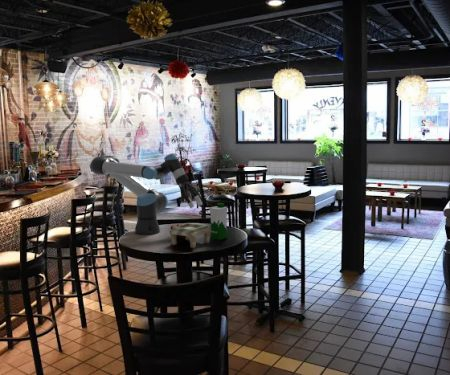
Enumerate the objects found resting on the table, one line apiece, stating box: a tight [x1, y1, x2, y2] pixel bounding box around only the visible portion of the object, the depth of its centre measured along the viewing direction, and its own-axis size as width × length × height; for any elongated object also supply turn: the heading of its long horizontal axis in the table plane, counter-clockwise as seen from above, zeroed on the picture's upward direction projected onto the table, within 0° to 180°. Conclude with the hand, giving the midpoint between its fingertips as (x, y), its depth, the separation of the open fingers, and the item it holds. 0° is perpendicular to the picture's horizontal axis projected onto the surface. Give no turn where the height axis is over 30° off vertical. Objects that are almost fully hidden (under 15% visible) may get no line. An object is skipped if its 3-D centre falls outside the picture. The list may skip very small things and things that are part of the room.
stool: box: [169, 222, 211, 249], centre depth 253 cm, size 16×16×10 cm
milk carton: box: [208, 202, 228, 241], centre depth 264 cm, size 9×9×20 cm
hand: (196, 206), depth 285 cm, fingers open, 13 cm apart
